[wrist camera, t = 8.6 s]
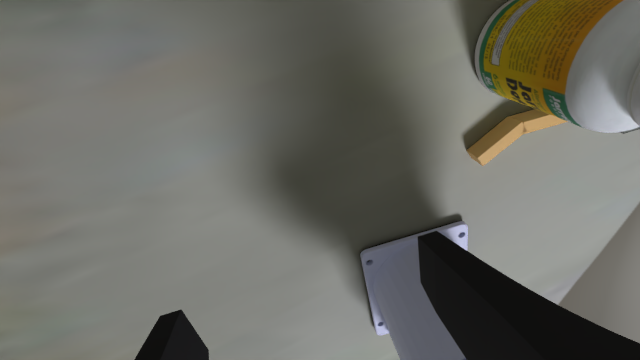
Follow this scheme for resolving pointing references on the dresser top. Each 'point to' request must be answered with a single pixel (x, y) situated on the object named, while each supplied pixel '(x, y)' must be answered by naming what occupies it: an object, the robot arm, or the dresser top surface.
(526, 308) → the robot arm
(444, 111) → the dresser top surface
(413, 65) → the dresser top surface
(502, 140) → the guard rails
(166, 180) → the dresser top surface
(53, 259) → the dresser top surface
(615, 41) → the supplement bottle
